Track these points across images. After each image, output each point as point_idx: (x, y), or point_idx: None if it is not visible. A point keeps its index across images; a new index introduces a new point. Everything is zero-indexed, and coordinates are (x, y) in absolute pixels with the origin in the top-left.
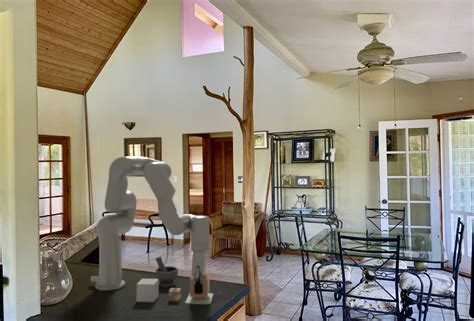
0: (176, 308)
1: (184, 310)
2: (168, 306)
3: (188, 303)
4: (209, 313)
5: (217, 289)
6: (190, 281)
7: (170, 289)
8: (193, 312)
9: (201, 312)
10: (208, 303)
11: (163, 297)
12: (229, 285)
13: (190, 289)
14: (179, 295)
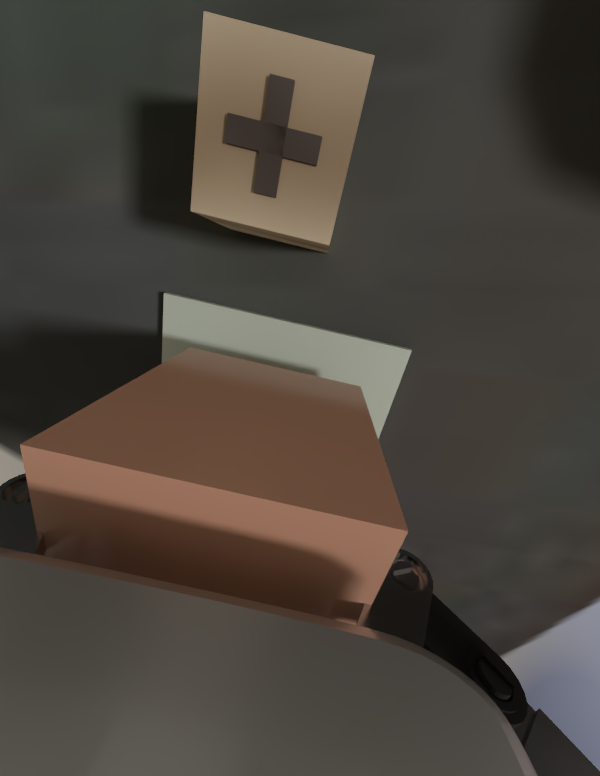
0: (57, 206)
1: (28, 282)
2: (94, 108)
3: (166, 323)
4: (15, 446)
5: (440, 547)
6: (63, 428)
7: (292, 45)
8: (6, 350)
9: (19, 402)
10: None
11: (378, 7)
12: (492, 616)
13: (149, 377)
14: (259, 233)
